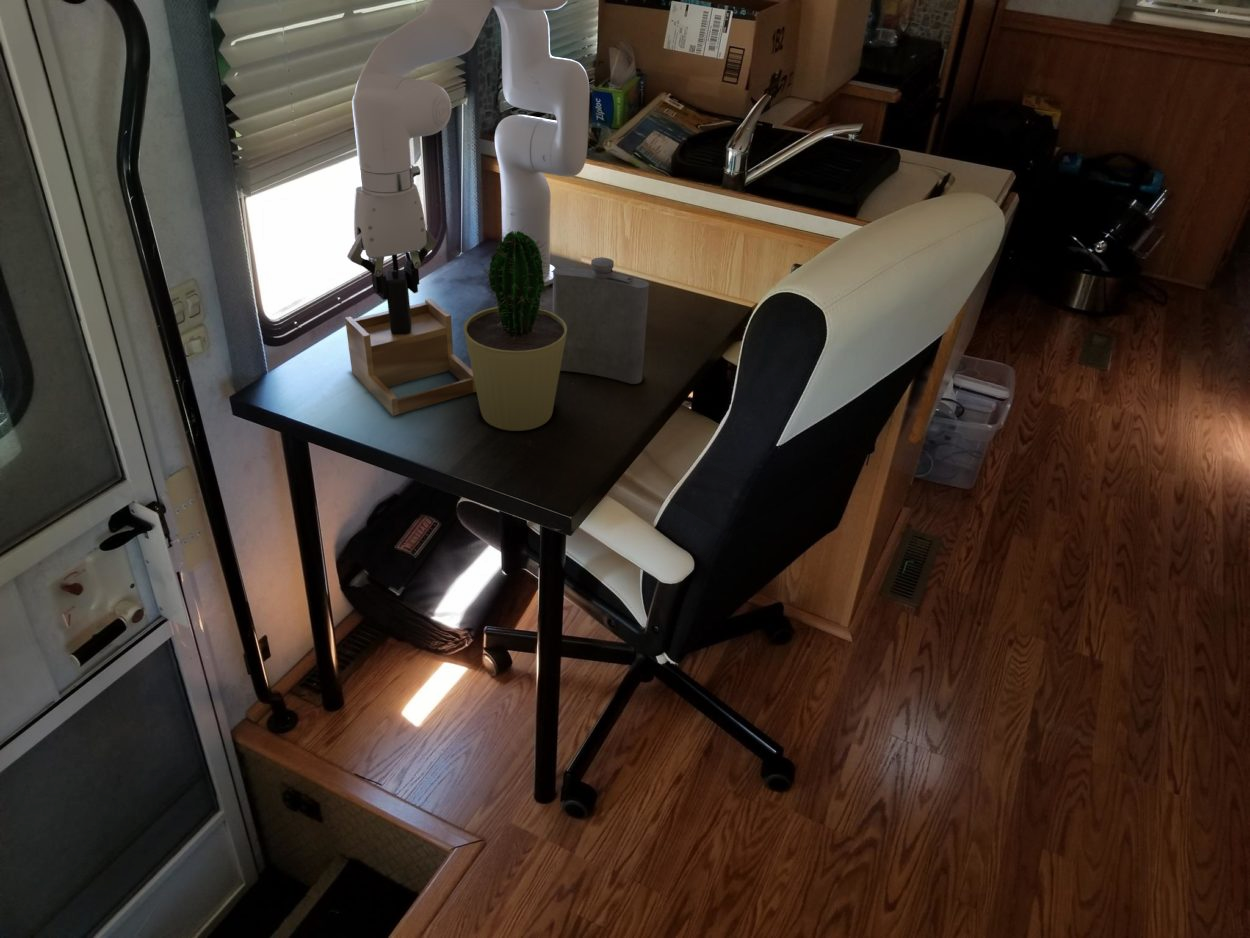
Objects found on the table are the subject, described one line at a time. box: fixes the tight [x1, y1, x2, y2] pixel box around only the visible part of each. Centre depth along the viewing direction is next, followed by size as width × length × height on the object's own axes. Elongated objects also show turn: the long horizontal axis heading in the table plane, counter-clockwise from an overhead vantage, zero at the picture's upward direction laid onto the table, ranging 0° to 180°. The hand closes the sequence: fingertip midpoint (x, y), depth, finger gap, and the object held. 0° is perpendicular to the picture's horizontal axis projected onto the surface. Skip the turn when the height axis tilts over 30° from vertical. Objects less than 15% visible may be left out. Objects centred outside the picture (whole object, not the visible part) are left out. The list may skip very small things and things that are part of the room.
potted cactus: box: [462, 227, 567, 432], centre depth 139 cm, size 15×15×30 cm
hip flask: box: [552, 256, 650, 385], centre depth 154 cm, size 16×4×20 cm, turn 75°
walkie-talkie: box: [385, 254, 411, 334], centre depth 147 cm, size 5×3×15 cm
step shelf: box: [344, 298, 477, 417], centre depth 151 cm, size 16×15×10 cm
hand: (396, 291), depth 148 cm, fingers closed on walkie-talkie, 4 cm apart
